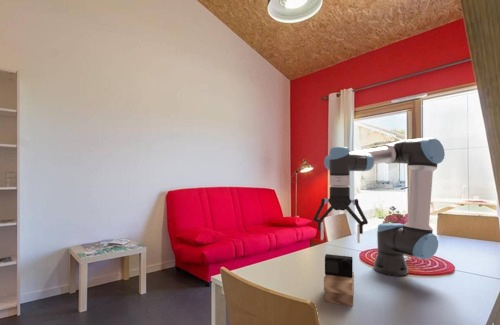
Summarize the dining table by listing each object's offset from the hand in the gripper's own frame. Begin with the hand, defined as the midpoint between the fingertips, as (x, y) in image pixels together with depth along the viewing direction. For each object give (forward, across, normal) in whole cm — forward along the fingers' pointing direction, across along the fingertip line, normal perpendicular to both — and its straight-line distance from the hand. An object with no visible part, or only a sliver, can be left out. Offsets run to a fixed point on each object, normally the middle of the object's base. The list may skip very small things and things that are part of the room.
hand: (339, 240), depth 112 cm
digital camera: (+14, -1, 0) cm, 14 cm away
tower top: (+18, 0, 0) cm, 18 cm away
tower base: (+22, 0, 0) cm, 23 cm away
